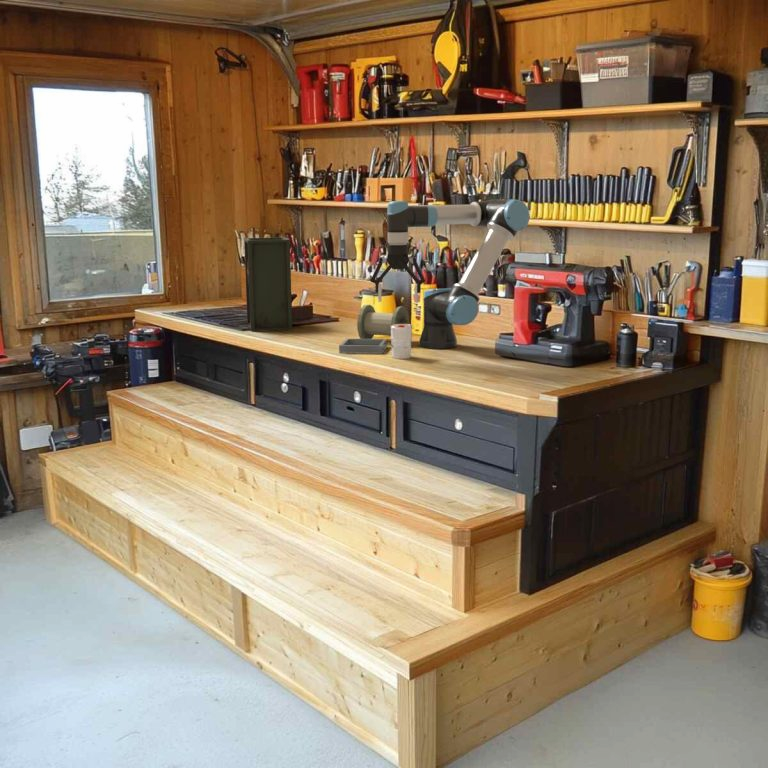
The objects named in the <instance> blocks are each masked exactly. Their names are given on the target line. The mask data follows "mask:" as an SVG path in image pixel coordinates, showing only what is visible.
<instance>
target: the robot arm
mask: <svg viewBox="0 0 768 768" xmlns="http://www.w3.org/2000/svg"><path fill="white" fill-rule="evenodd" d="M386 215H387V243H388V245H387V257H383V256H381V257H379V258H378V263H377V266H376V267H375V270H374V272H373V274H372V276H371V278H370V282H371V283H373V284H374V287H375V293H377V295H378V297H377V298H378V299H377V300H378V303H381V302H382V283H381V281H382V280H383V279H384V278H385V277H386V275H387V274H388V273H389V271H391V269H392V270H405V272H407V273H408V275H409V276H410V278H412V279H413V281H414V282H415V284H414V303H418V301H419V297H418V296H419V294H420V293H421V290H422V289H421V287H422V286H421V285H422V284H424V283H425V282H426V278H425V276H424V274H423V272H422V270H421V268H420V266H419V264H418V258H417V256H415V257H409V245H408V243H409V228H429V227H435V226H436V225H437V226H439V225H444V226H445V225H471V227H481V228H482V227H483V228H487V231H486V234H485V235H484V237H483V239H482V241H481V242H480V244H479V246H478V247H477V250H476V251H475V254H474V255H473V258H472V259H471V261H470V262H469V264H468V266H467V267H466V269H465V271H464V273H463V275H462V276H461V278H460V280H459V282H457V283H454V284H453V285H452V287H446V288H430V289H426V290H424V292H423V299H422V300H423V328H422V331H421V334H420V337H419V342H418V343H419V344H418V346H419V347H421V348H425V349H435V350H436V349H437V350H438V349H439V350H441V349H442V350H443V349H444V350H445V349H452V348H455V347H456V348H457V346H458V339H457V335H456V334H455V330H454V325H455V326H467V325H469V324H471V323H472V322H473V321H474V320H475V319H476V317H477V316H478V313H479V301H480V295H479V293H480V291H481V290H482V288H483V286H484V285H485V282H486V280H487V278H489V275H490V274H491V271H492V269H493V268H494V266H495V264H496V263H497V261H498V259H499V257H500V255H501V254H502V252H503V250H504V249H505V247H506V245H507V244H508V242H509V241H511V240H513V239H514V238H515V237H516V235H517V233H518V232H520V231H522V230H524V229H525V228H527V226H528V224H529V222H530V211H529V207H528V206H527V204H526V203H525V202H524V201H522V200H519V199H515V198H510V199H501V198H496V199H489V200H482V201H472V202H471V203H469V204H431V205H430V204H427V205H426V204H425V205H422V204H421V205H420V204H419V205H415V204H414V205H409V202H408V201H407V200H393V201H388V203H387V211H386ZM386 262H387V264H388V265H387V267H386V268H385V269H384V271H383V272H382V274H380V275H379V277H378V274H379V273H380V271H381V268H382V266H383V264H385V263H386ZM409 262H410V263H411V264H413V266H414V269H415V271H416V272H417V275H418V277H417V275H416V274H415V273H414V272H413V270H412V269H411V268H410V266H409V265H408V264H409ZM377 277H378V278H377ZM376 278H377V279H376Z"/></svg>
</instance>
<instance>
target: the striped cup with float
mask: <svg viewBox="0 0 768 768" xmlns="http://www.w3.org/2000/svg"><path fill="white" fill-rule="evenodd" d="M390 326H391V336H390V343H391V345H390V346H391V358H393V359H396V360H399V359H400V360H406V359H410V358H411V357H412V352H411V351H412V336H413V335H412V334H413V330H412V329H413V325H412V324H410V323H409V324H393V325H390Z"/></svg>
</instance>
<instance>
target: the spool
mask: <svg viewBox="0 0 768 768" xmlns="http://www.w3.org/2000/svg"><path fill="white" fill-rule="evenodd" d="M393 324H410V315H409V312H408V310H407V308H406V307H404V306H401V305H400V306H397V307H396V308H395V309H394V311H393V313H392V312H391V313H390V312H389V313H387V312H376V310H375V307H374V306H373V305H371V304H364V305H362V307H361V308H360V310H359V313H358V314H357V324H356V326H357V328H356V329H357V334H358V336H359V339H374V335H375V336H386V337H387V336H388V337H391V326H390V325H393Z"/></svg>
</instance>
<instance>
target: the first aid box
mask: <svg viewBox="0 0 768 768" xmlns="http://www.w3.org/2000/svg"><path fill="white" fill-rule="evenodd" d="M243 241H244V243H243V244H244V268H245V269H244V270H245V271H244V272H245V297H246V321H247V323H250V324H251V326H249V327H250V329H251V330H271V331H288V330H289V331H292V330H293V310H292V309H293V308H292V307H293V306H292V271H291V270H292V266H291V263H292V262H291V240H290V238H287V237H244V238H243ZM247 323H246V324H247ZM249 327H248V328H249ZM250 329H249V330H250ZM251 330H250V331H251Z"/></svg>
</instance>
